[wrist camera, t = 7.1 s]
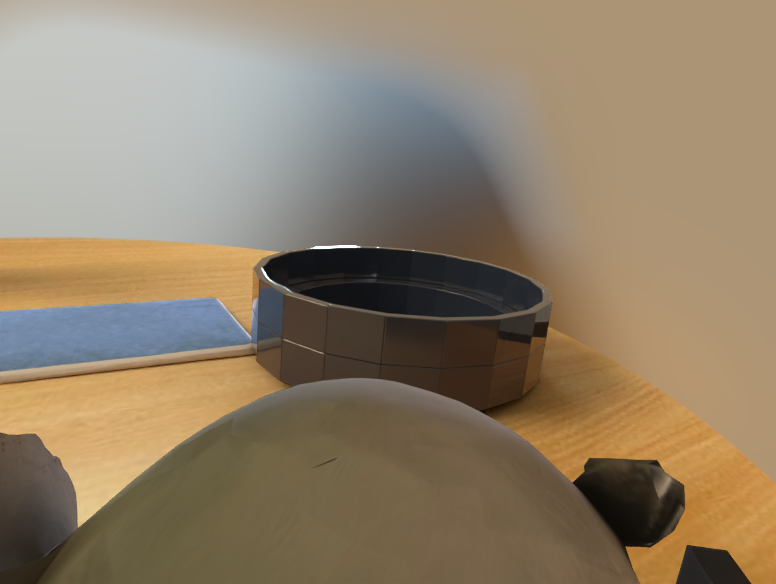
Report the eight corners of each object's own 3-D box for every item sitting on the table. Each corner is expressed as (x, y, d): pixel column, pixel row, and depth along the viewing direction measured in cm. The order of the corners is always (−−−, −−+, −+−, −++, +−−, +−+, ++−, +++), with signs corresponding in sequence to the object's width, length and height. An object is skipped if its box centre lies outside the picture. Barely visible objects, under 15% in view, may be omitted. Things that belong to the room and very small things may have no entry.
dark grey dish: (454, 309, 51) (462, 248, 50) (602, 406, 33) (622, 315, 31) (239, 314, 44) (240, 243, 42) (277, 441, 26) (281, 325, 24)
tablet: (-117, 409, 26) (-121, 385, 26) (-64, 328, 37) (-67, 310, 36) (260, 362, 36) (261, 344, 36) (218, 309, 47) (218, 294, 46)
